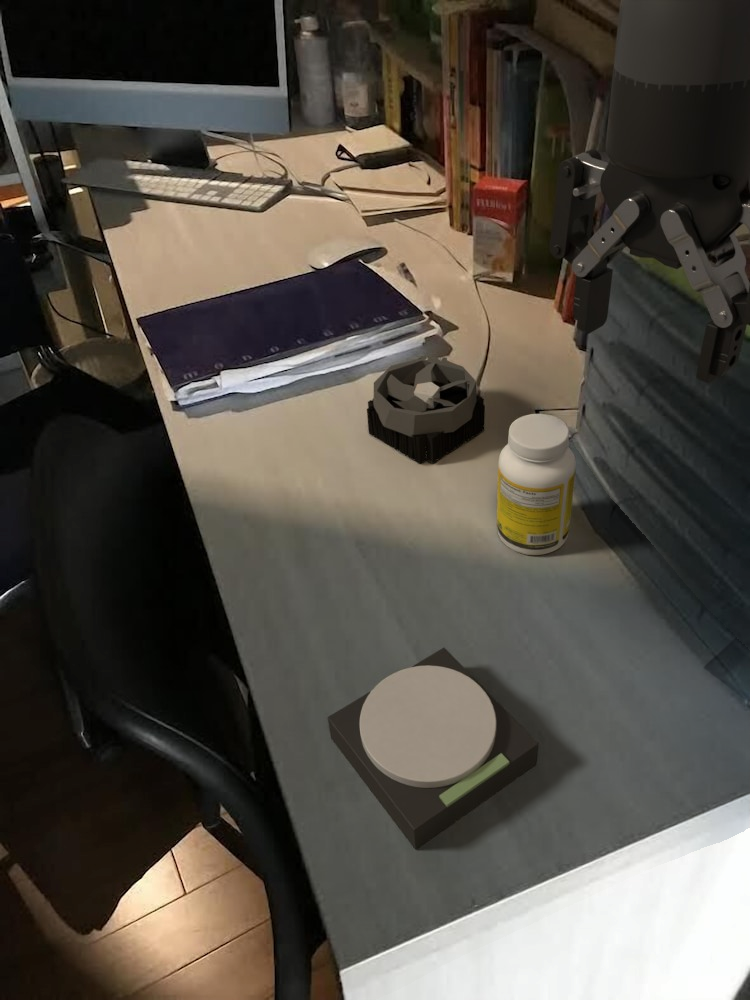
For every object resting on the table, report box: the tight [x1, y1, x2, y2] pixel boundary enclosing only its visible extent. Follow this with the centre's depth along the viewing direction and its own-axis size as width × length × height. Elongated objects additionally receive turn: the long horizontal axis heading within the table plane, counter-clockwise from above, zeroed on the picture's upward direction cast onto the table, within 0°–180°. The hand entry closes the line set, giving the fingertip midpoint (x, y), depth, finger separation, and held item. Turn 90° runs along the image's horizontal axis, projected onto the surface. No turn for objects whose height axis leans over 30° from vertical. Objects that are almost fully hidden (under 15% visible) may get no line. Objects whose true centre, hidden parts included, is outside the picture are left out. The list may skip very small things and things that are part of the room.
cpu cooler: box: [366, 355, 486, 465], centre depth 83 cm, size 10×6×10 cm
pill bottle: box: [496, 413, 577, 556], centre depth 69 cm, size 6×6×11 cm
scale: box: [326, 647, 540, 851], centre depth 56 cm, size 10×10×3 cm
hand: (648, 351), depth 51 cm, fingers open, 8 cm apart
